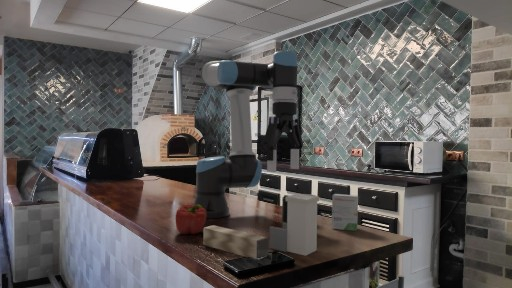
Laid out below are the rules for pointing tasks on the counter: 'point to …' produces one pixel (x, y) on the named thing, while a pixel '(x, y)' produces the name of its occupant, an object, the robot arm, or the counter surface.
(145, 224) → the counter surface
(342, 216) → the ink box
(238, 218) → the counter surface
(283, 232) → the grey forked bracket
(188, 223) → the vegetable
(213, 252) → the counter surface
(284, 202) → the mug
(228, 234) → the rail
